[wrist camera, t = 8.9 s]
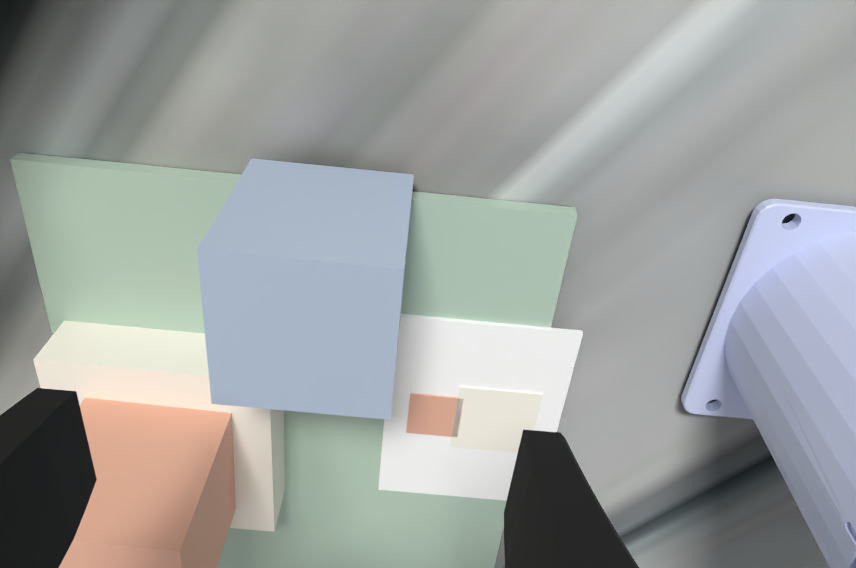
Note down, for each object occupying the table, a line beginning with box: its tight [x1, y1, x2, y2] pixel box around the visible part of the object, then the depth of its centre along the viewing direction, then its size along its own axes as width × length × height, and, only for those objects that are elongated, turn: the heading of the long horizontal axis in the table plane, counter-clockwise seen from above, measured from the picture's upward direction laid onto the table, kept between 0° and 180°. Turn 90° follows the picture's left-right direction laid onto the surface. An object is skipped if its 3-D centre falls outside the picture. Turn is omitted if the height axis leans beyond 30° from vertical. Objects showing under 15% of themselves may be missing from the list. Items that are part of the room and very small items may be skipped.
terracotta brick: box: [59, 398, 236, 568], centre depth 21 cm, size 4×4×5 cm
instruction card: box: [378, 314, 583, 501], centre depth 24 cm, size 6×8×1 cm
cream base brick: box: [33, 321, 285, 532], centre depth 24 cm, size 7×7×2 cm
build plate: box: [10, 153, 577, 568], centre depth 26 cm, size 16×23×1 cm
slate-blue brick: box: [197, 159, 414, 420], centre depth 19 cm, size 4×4×5 cm
